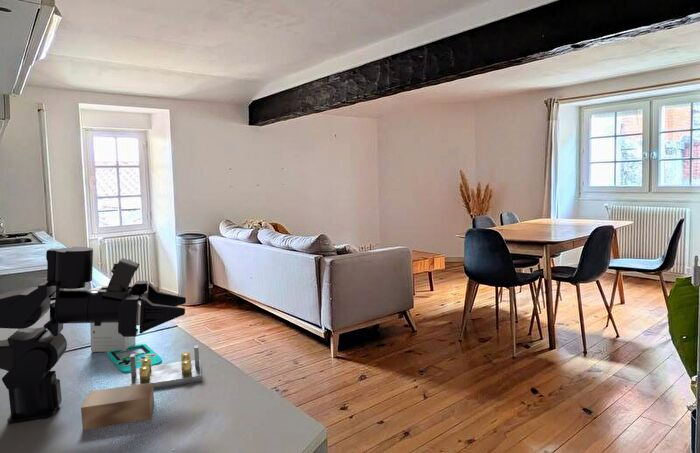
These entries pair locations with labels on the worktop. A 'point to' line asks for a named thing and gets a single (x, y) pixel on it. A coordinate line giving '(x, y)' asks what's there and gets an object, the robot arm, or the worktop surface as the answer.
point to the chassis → (167, 371)
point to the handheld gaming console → (125, 361)
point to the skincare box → (108, 336)
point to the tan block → (117, 405)
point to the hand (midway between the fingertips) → (185, 305)
